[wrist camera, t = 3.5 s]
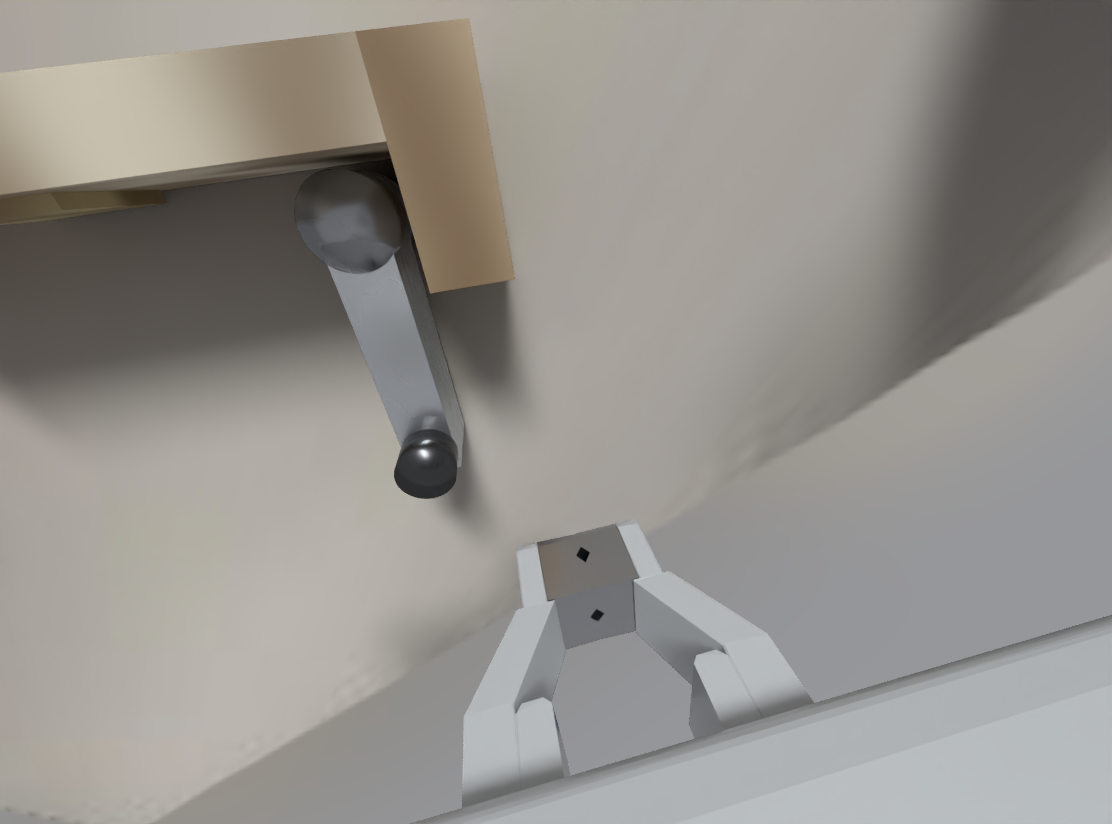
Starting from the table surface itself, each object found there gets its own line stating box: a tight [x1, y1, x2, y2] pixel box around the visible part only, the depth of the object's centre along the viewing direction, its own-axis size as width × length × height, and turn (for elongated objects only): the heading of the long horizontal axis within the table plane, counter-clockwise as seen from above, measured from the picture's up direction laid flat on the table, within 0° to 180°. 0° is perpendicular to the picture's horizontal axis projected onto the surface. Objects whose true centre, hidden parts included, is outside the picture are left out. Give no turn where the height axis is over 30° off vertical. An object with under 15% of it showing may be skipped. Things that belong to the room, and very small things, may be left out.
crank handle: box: [294, 169, 464, 499], centre depth 15 cm, size 11×3×5 cm, turn 9°
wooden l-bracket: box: [0, 18, 515, 293], centre depth 12 cm, size 20×6×6 cm, turn 99°
